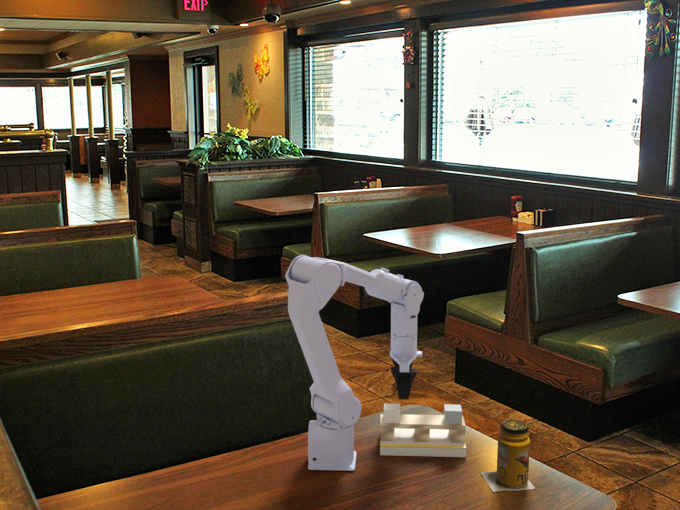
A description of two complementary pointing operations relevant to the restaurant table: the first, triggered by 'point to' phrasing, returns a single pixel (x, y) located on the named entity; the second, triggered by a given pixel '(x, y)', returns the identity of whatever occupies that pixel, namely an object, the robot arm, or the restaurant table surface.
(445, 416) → the light grey square block
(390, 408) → the block
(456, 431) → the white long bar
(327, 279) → the robot arm
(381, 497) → the restaurant table surface
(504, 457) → the condiment
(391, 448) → the dock
